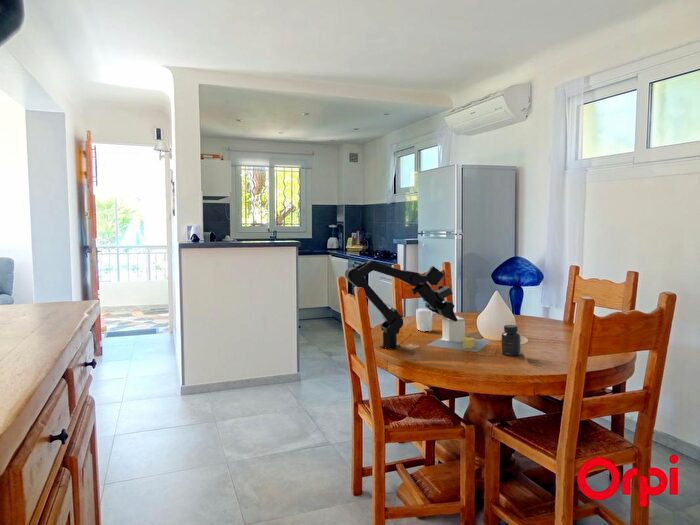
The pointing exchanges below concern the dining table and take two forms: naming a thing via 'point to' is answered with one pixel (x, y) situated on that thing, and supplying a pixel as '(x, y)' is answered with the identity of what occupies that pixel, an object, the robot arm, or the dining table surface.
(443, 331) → the white rounded cube
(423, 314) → the white cup
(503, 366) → the dining table surface
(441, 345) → the board
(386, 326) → the robot arm
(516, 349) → the supplement bottle
